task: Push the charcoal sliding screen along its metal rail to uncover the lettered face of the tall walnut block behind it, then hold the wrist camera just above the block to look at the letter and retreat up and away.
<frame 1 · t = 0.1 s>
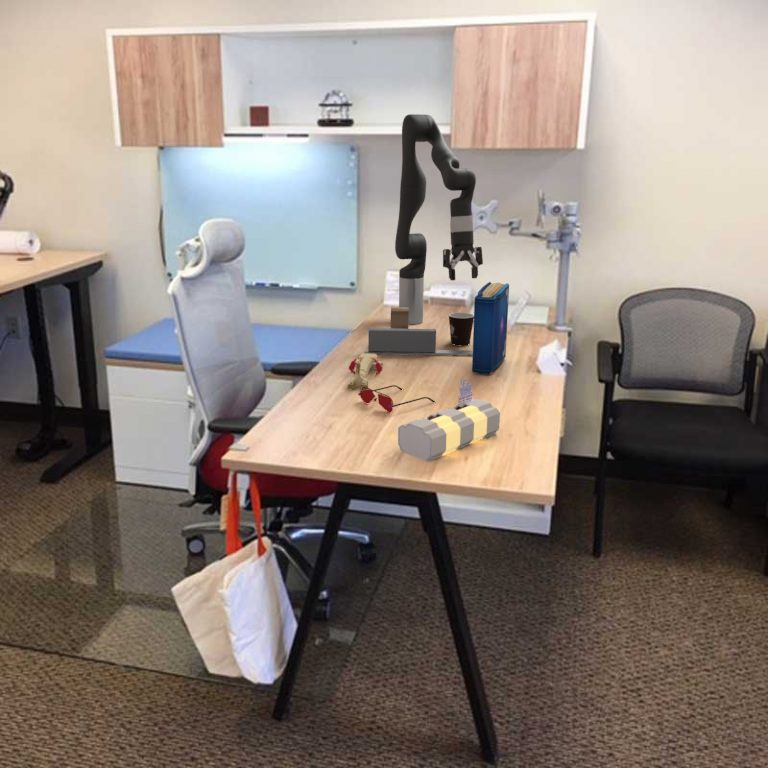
hand: (463, 279, 275), 22 cm above the table, tool pointing down, fingers open, 8 cm apart
walnut block: (399, 343, 282), on the table
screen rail: (426, 353, 270), on the table
glasses: (396, 404, 223), on the table
book: (488, 367, 256), on the table
grey yellow banded box: (449, 444, 196), on the table
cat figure: (364, 378, 245), on the table
coffee mug: (460, 343, 284), on the table
sliding screen: (402, 340, 269), point 4 cm above the table, slide at 0.0 cm
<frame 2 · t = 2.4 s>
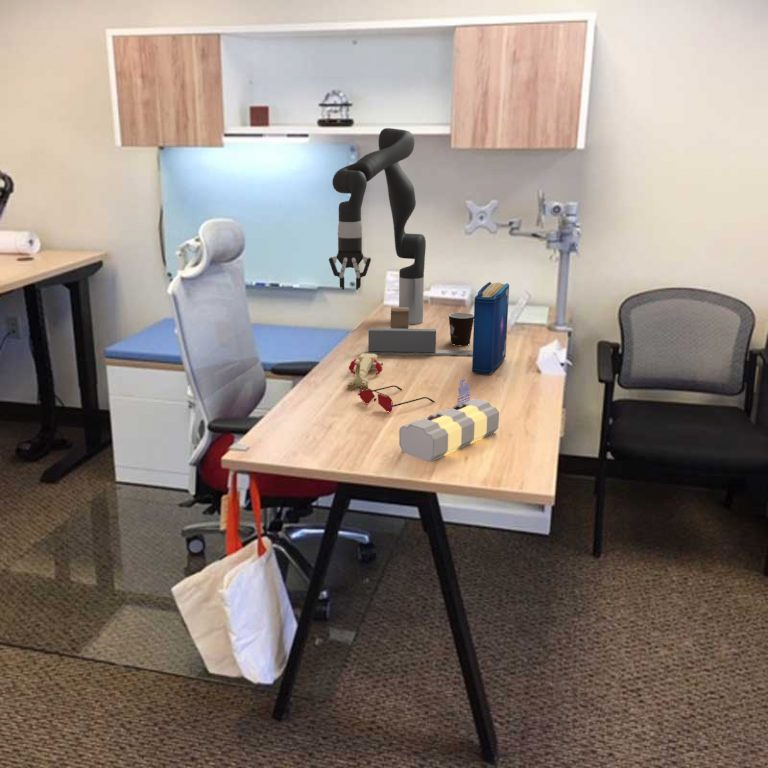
hand: (350, 288, 264), 21 cm above the table, tool pointing down, fingers open, 4 cm apart
nothing on the table moved.
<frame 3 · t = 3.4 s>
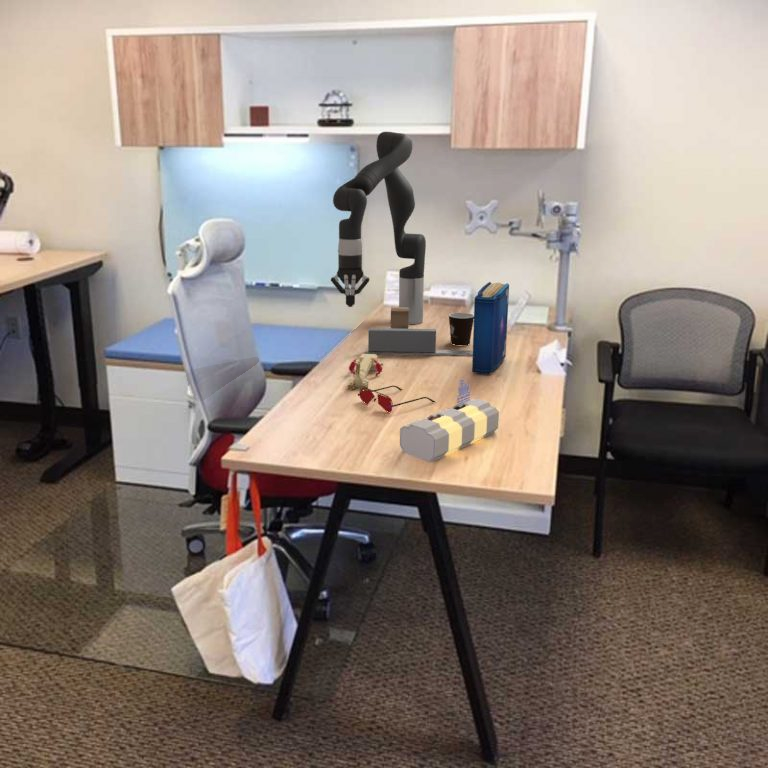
hand: (350, 306, 266), 16 cm above the table, tool pointing down, fingers closed
nothing on the table moved.
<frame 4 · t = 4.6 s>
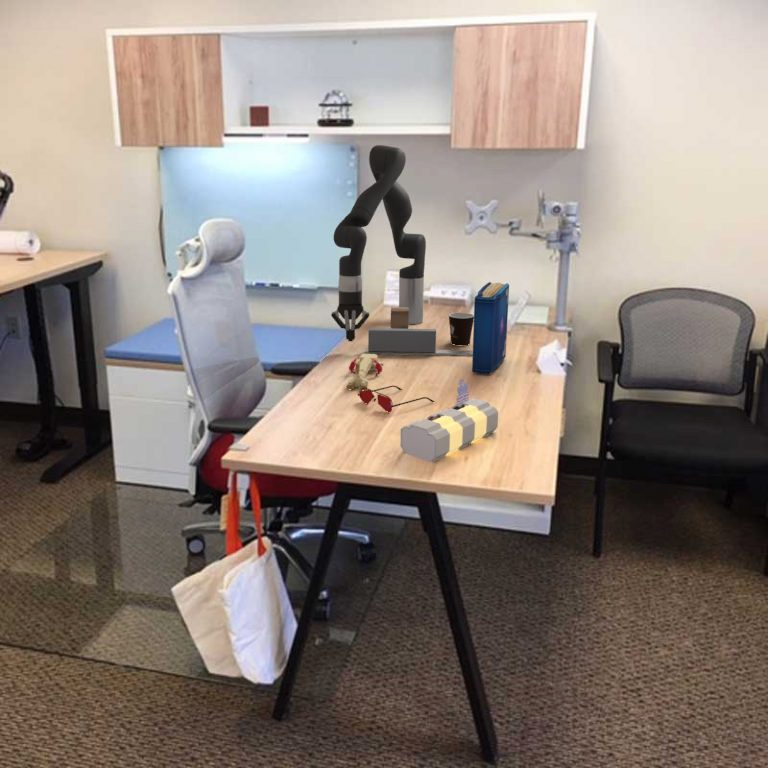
hand: (350, 340, 269), 4 cm above the table, tool pointing down, fingers closed
nothing on the table moved.
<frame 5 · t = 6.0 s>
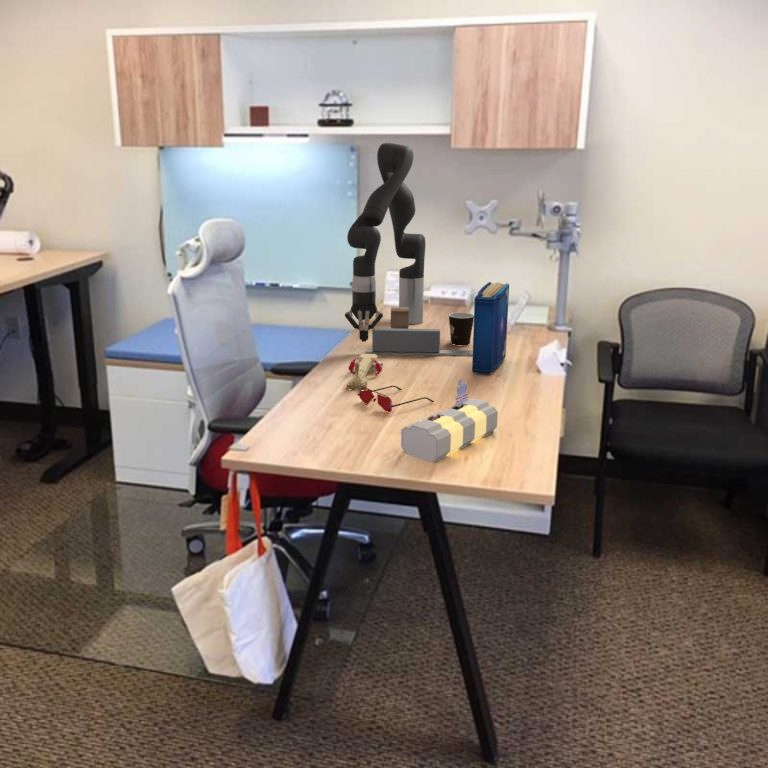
hand: (363, 341, 269), 4 cm above the table, tool pointing down, fingers closed
sliding screen: (406, 340, 269), point 4 cm above the table, slide at 1.3 cm, touching gripper
everything else where it was.
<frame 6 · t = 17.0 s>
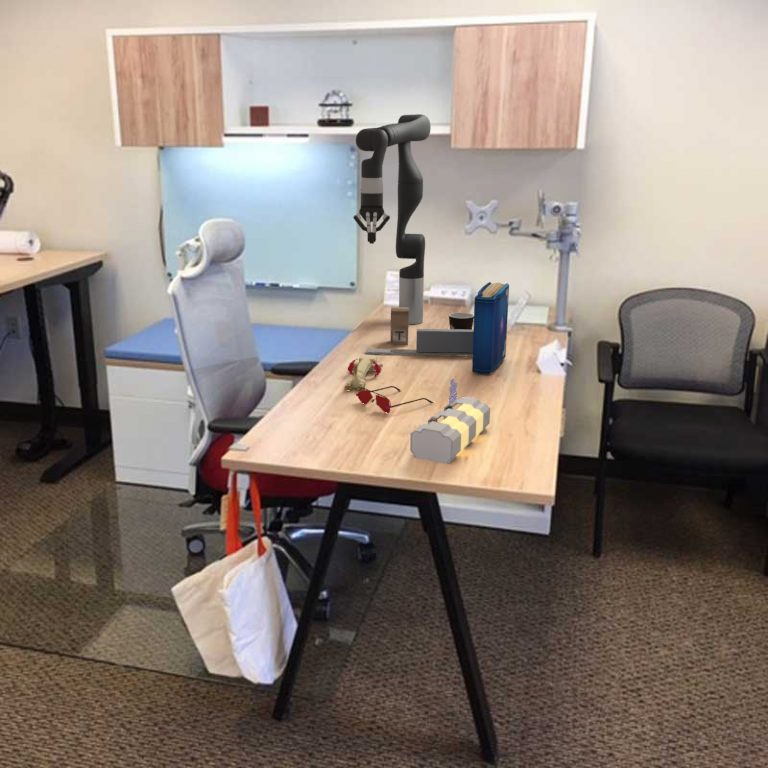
hand: (371, 243, 280), 33 cm above the table, tool pointing down, fingers closed
sliding screen: (450, 340, 268), point 4 cm above the table, slide at 15.7 cm
at the end: sliding screen slide at 15.7 cm; walnut block moved 0.0 cm from its start; walnut block tilted 0° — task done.
